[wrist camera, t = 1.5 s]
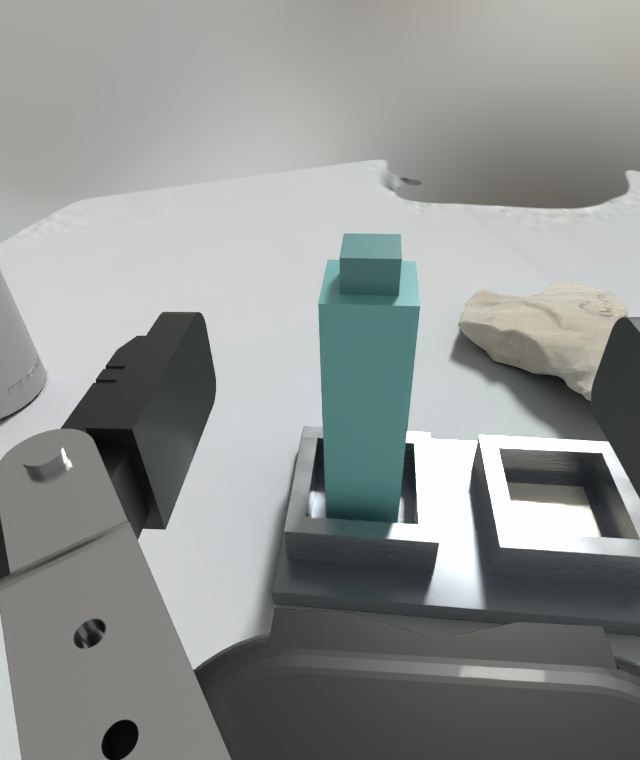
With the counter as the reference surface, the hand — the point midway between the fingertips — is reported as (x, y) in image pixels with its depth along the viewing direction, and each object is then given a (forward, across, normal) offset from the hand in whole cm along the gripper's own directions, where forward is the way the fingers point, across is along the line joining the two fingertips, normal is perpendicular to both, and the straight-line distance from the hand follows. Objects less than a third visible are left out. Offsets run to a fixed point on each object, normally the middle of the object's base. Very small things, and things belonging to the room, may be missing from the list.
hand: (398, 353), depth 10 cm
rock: (+30, -15, +20) cm, 39 cm away
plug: (+12, 0, +19) cm, 22 cm away
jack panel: (+12, -5, +20) cm, 24 cm away
